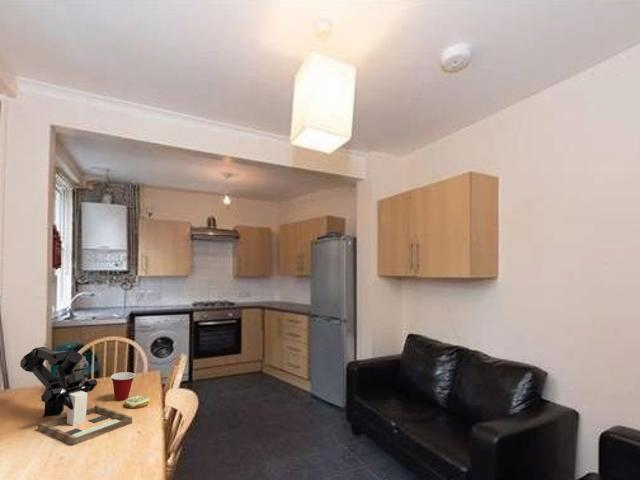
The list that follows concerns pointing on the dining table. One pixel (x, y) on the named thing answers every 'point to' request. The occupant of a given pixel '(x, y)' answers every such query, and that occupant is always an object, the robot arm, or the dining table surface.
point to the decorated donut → (137, 401)
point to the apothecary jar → (81, 369)
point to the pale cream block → (77, 408)
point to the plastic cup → (122, 385)
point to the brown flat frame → (74, 440)
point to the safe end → (96, 428)
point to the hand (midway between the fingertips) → (79, 407)
